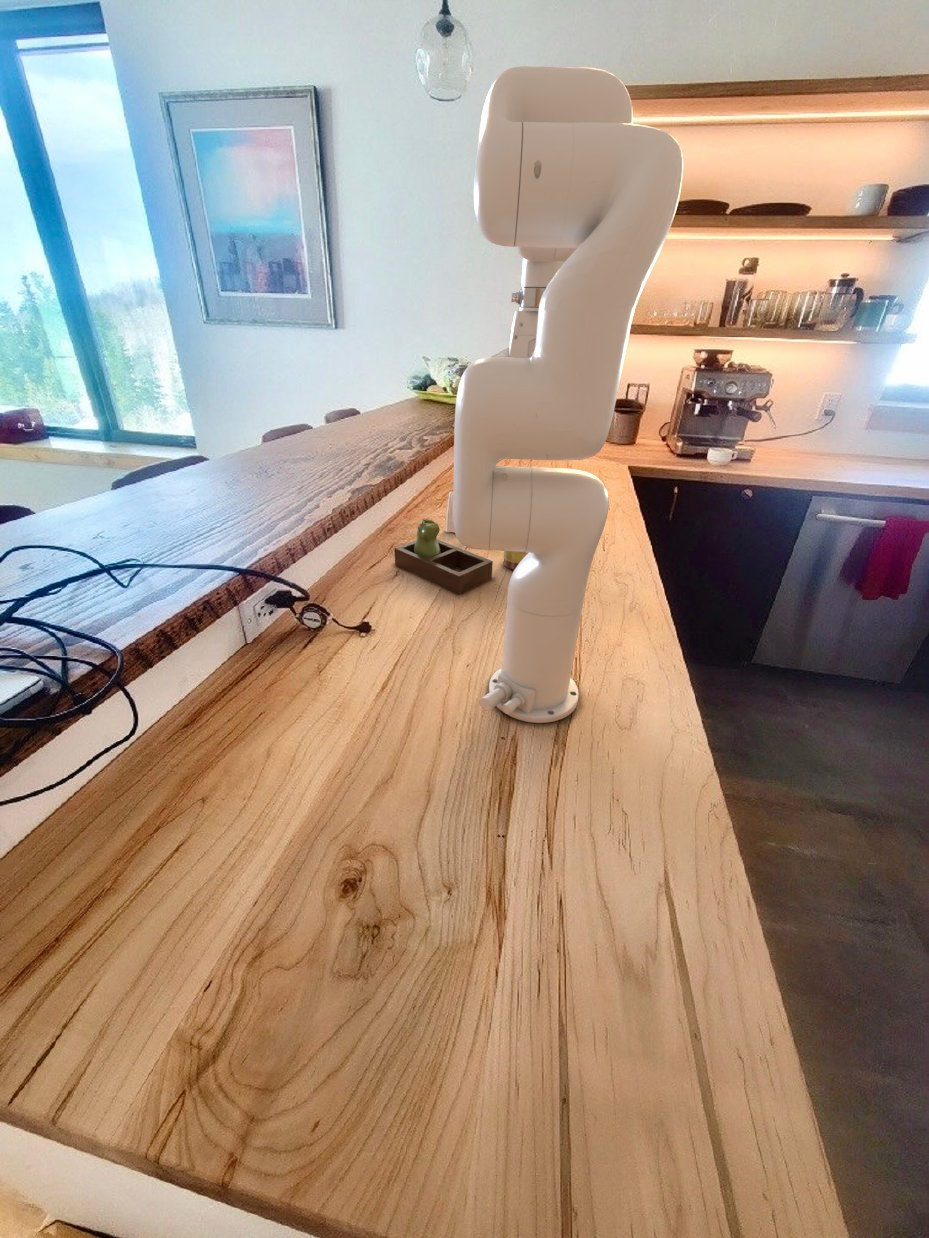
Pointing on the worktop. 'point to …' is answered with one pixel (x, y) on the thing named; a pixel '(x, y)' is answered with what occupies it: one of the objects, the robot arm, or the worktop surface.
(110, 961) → the worktop surface
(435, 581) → the divided tray
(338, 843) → the worktop surface
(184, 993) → the worktop surface
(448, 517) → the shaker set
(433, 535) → the pear
